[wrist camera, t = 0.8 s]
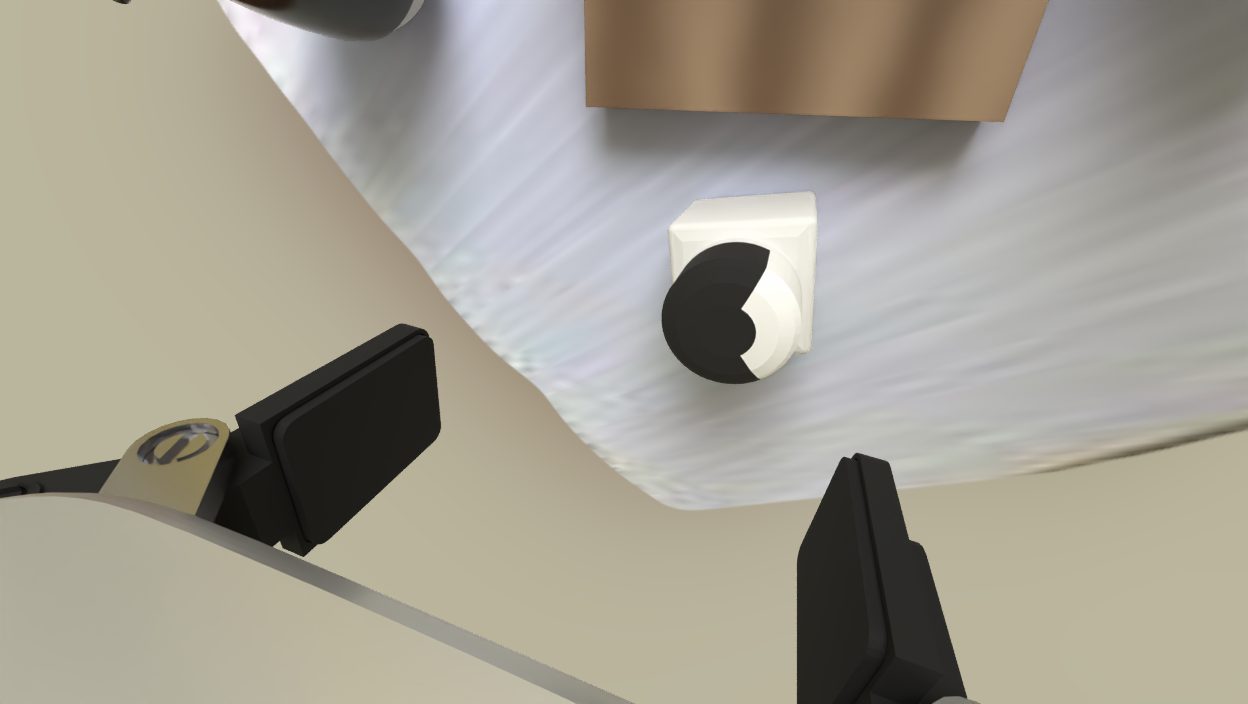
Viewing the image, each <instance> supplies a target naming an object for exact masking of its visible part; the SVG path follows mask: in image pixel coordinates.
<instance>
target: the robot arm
mask: <svg viewBox="0 0 1248 704" xmlns="http://www.w3.org/2000/svg"><path fill="white" fill-rule="evenodd" d="M235 417H236V420H237V423H238V426H239V428H238V429H236V430H235V431H233V432H230V429H229V428H228V426H227V425H226V424H225V423H223V422H221V421H219V420H216V419H208V418H200V419H199V418H198V419H197V418H196V419H188V420H183V421H178V422H174V423H171V424H168V425H165V426H162V427H159V428H157V429H155V430H153V431H151V432H149V433H147V434H145V435H144V436H142V437H141V438H139V439H138V440H136V441H135V442H134V443H133V444H132V445H131V446H130V447H129V448H128V449H127V451H126V452H125V454H124V455H123V457H122V458H121V459H118V460H112V461H106V462H100V463H95V464H89V465H83V466H77V467H71V468H65V469H60V470H54V471H48V472H43V473H36V474H31V475H25V476H19V477H14V478H9V479H5V480H1V481H0V704H634V703H632V702H630V701H628V700H625V699H623V698H621V697H618V696H616V695H614V694H611V693H609V692H607V691H605V690H602V689H600V688H598V687H596V686H593V685H591V684H589V683H586V682H584V681H582V680H579V679H577V678H575V677H573V676H570V675H568V674H566V673H564V672H561V671H559V670H557V669H554V668H552V667H550V666H548V665H545V664H543V663H541V662H538V661H536V660H534V659H532V658H529V657H527V656H525V655H523V654H520V653H518V652H516V651H513V650H511V649H509V648H506V647H504V646H502V645H499V644H497V643H495V642H492V641H490V640H488V639H486V638H483V637H481V636H479V635H476V634H474V633H472V632H469V631H467V630H465V629H463V628H460V627H458V626H456V625H453V624H451V623H448V622H446V621H444V620H442V619H439V618H437V617H435V616H432V615H430V614H428V613H426V612H423V611H421V610H419V609H416V608H414V607H411V606H409V605H407V604H405V603H402V602H400V601H398V600H395V599H393V598H390V597H388V596H386V595H383V594H381V593H379V592H377V591H374V590H372V589H370V588H367V587H365V586H362V585H360V584H358V583H356V582H353V581H351V580H349V579H346V578H344V577H342V576H339V575H337V574H335V573H332V572H330V571H327V570H325V569H323V568H320V567H318V566H316V565H313V564H311V563H309V562H306V561H304V560H302V559H299V558H297V557H294V556H292V555H290V554H287V553H285V552H283V551H280V550H278V549H275V548H273V546H274V545H275V544H276V543H278V542H279V541H280V542H281V545H282V547H283V548H284V549H286V550H288V551H291V552H293V553H295V554H298V555H300V556H302V557H304V556H305V555H307V554H308V552H310V551H311V550H312V549H313V548H314V547H315V546H316V545H317V544H323V543H325V542H326V541H328V540H329V539H330V538H331V537H332V536H333V535H334V534H335V533H336V532H338V531H339V530H340V529H341V528H342V527H343V526H344V525H345V524H346V523H347V522H348V521H349V520H350V519H352V518H353V516H355V515H356V514H357V513H358V512H359V511H360V510H361V509H362V508H363V507H364V506H365V505H366V504H368V503H369V502H370V501H371V500H372V499H373V498H374V497H375V496H376V495H377V494H378V493H379V492H380V491H381V490H383V489H384V488H385V487H386V486H387V485H388V484H389V483H390V482H391V481H392V480H393V479H394V478H395V477H396V476H397V475H398V474H399V473H401V472H402V471H403V470H404V469H405V468H406V467H407V466H408V465H409V464H410V463H411V462H413V461H414V460H415V459H416V458H417V457H418V456H419V455H420V454H421V453H422V452H423V451H424V450H425V449H426V448H427V447H429V446H430V445H431V444H432V443H433V442H434V441H435V440H436V438H437V437H438V435H439V433H440V429H441V421H440V410H439V399H438V388H437V377H436V366H435V355H434V344H433V340H432V339H431V338H430V337H429V335H428V333H427V331H425V330H424V329H421V328H417V327H414V326H410V325H407V324H398V325H396V326H394V327H392V328H390V329H389V330H387V331H385V332H383V333H382V334H380V335H378V336H376V337H374V338H373V339H371V340H369V341H367V342H365V343H364V344H362V345H360V346H358V347H356V348H355V349H353V350H351V351H349V352H347V353H346V354H344V355H342V356H340V357H338V358H337V359H335V360H333V361H331V362H329V363H328V364H326V365H325V366H322V367H321V368H319V369H317V370H315V371H313V372H312V373H310V374H308V375H306V376H304V377H302V378H301V379H299V380H297V381H295V382H294V383H292V384H290V385H288V386H286V387H285V388H283V389H281V390H279V391H277V392H276V393H274V394H272V395H270V396H268V397H267V398H265V399H263V400H261V401H259V402H258V403H256V404H254V405H252V406H250V407H249V408H247V409H245V410H243V411H241V412H240V413H238V414H236V415H235ZM797 704H980V703H978V702H976V701H972V700H969V699H967V695H966V692H965V688H964V685H963V682H962V678H961V674H960V671H959V668H958V664H957V661H956V657H955V654H954V650H953V646H952V643H951V640H950V636H949V632H948V629H947V626H946V622H945V618H944V615H943V612H942V608H941V604H940V601H939V597H938V594H937V591H936V587H935V583H934V580H933V577H932V573H931V570H930V566H929V563H928V559H927V555H926V553H925V551H924V548H923V547H922V546H921V545H920V544H919V543H917V542H914V541H911V540H909V537H908V534H907V530H906V526H905V522H904V518H903V514H902V510H901V506H900V502H899V498H898V494H897V491H896V487H895V483H894V479H893V475H892V471H891V467H890V464H889V463H888V462H887V461H884V460H881V459H877V458H874V457H870V456H867V455H863V454H860V453H855V454H854V455H853V457H852V458H851V459H850V458H847V457H843V458H842V459H841V460H840V462H839V464H838V466H837V469H836V471H835V473H834V475H833V477H832V479H831V482H830V484H829V486H828V488H827V490H826V492H825V494H824V497H823V499H822V501H821V503H820V505H819V507H818V510H817V512H816V514H815V516H814V518H813V520H812V522H811V525H810V527H809V529H808V531H807V533H806V535H805V538H804V540H803V542H802V544H801V546H800V550H799V554H798V559H797Z"/></svg>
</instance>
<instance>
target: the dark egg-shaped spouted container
mask: <svg viewBox="0 0 1248 704" xmlns="http://www.w3.org/2000/svg"><path fill="white" fill-rule="evenodd" d="M113 1H115V2H118V3H121V4H128V3H130V2H131V0H113ZM231 1H233V2H235V3H237V4H239V5H241V6H243V7H246V8H248V9H250V10H252V11H254V12H257V13H259V14H261V15H264V16H266V17H269V18H271V19H274V20H276V21H279V22H282V23H284V24H287V25H290V26H293V27H296V28H299V29H303V30H306V31H309V32H313V33H316V34H320V35H323V36H327V37H331V38H335V39H339V40H345V41H353V42H371V41H376V40H379V39H381V38H384V37H385V36H387V35H389V34H390V33H392V32H393V31H394V30H396V29H398V28H400V27H402V26H403V25H405V24H406V23H407V22H409V21H410V20H411V19H412V18H413V17H414V16H415V15H416V13H417V12H418V11H419V9H420V8H421V6H422V5H423V3H424V1H425V0H231Z"/></svg>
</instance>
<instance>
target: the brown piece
mask: <svg viewBox="0 0 1248 704" xmlns="http://www.w3.org/2000/svg"><path fill="white" fill-rule="evenodd" d="M1048 1H1049V0H584V14H585V74H586V107H605V108H632V109H660V110H687V111H714V112H742V113H769V114H796V115H824V116H851V117H879V118H906V119H933V120H961V121H988V122H1004V120H1005V117H1006V115H1007V112H1008V109H1009V106H1010V104H1011V101H1012V98H1013V96H1014V93H1015V90H1016V88H1017V85H1018V82H1019V79H1020V77H1021V74H1022V71H1023V69H1024V66H1025V63H1026V61H1027V58H1028V55H1029V52H1030V50H1031V47H1032V44H1033V42H1034V39H1035V36H1036V34H1037V31H1038V28H1039V25H1040V23H1041V20H1042V17H1043V15H1044V12H1045V9H1046V7H1047V4H1048Z"/></svg>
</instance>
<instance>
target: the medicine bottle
mask: <svg viewBox="0 0 1248 704" xmlns="http://www.w3.org/2000/svg"><path fill="white" fill-rule="evenodd" d="M817 231H818V218H817V207H816V196H815V194H814V193H813V192H811V191H804V192H791V193H777V194H763V195H750V196H736V197H723V198H709V199H698V200H695V201H694V202H693V203H692V204H691V205H690V206H689V207H688V208H687V209H686V210H685V211H684V212H683V213H682V214H681V215H680V216H679V217H678V218H677V219H676V220H675V221H674V222H673V223H672V224H671V225H670V226H669V227H668V238H669V250H670V262H671V274H672V286H671V288H670V289H669V291H668V293H667V295H666V298H665V301H664V304H663V309H662V328H663V332H664V336H665V339H666V341H667V344H668V346H669V347H670V349H671V351H672V352H673V354H674V355H675V356H676V357H677V359H678V360H679V361H680V362H681V363H682V364H683V365H684V366H685V367H687V368H688V369H689V370H691V371H692V372H694V373H696V374H697V375H699V376H701V377H704V378H706V379H708V380H712V381H715V382H720V383H726V384H744V383H749V382H754V381H757V380H760V379H763V378H765V377H767V376H769V375H771V374H773V373H774V372H776V371H777V370H778V369H780V368H781V367H782V366H783V365H784V364H785V363H786V362H787V361H788V360H789V358H790V357H791V356H792V354H793V353H797V354H804V353H807V352H809V351H810V349H811V341H812V323H813V304H814V286H815V268H816V249H817Z"/></svg>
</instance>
